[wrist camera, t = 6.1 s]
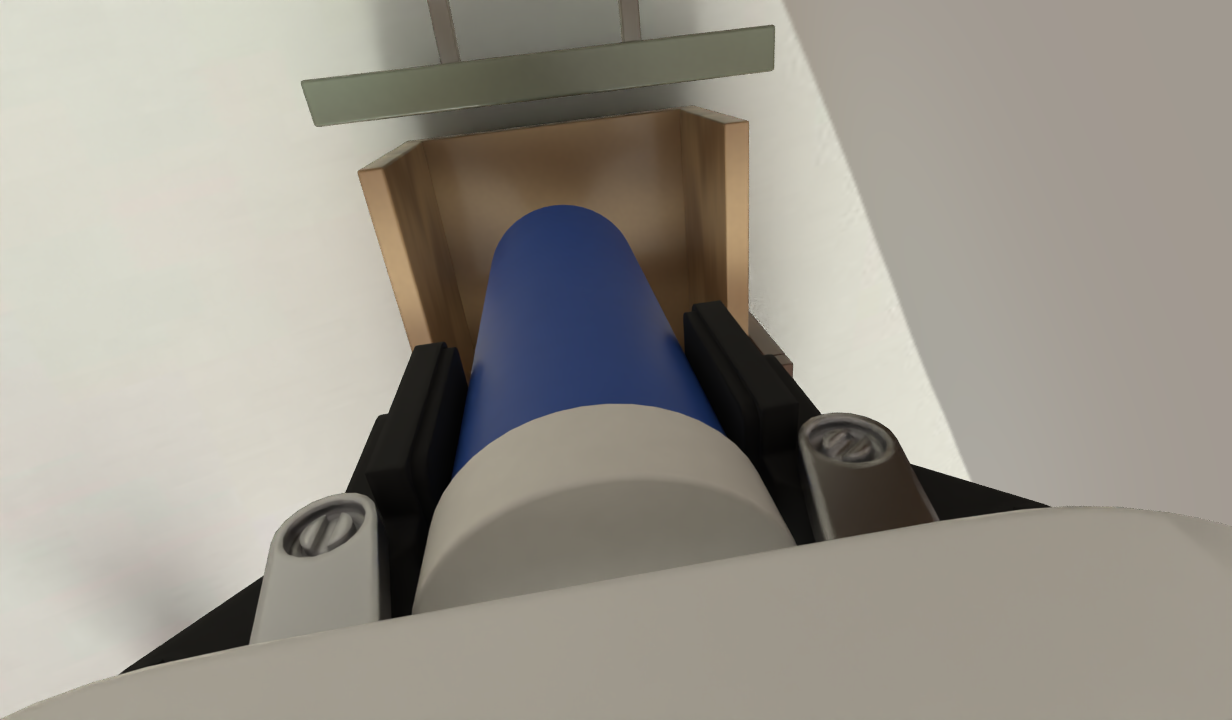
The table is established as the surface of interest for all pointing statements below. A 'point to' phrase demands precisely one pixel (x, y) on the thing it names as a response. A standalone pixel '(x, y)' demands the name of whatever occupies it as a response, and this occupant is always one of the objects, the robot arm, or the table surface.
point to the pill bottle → (583, 432)
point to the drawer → (556, 169)
